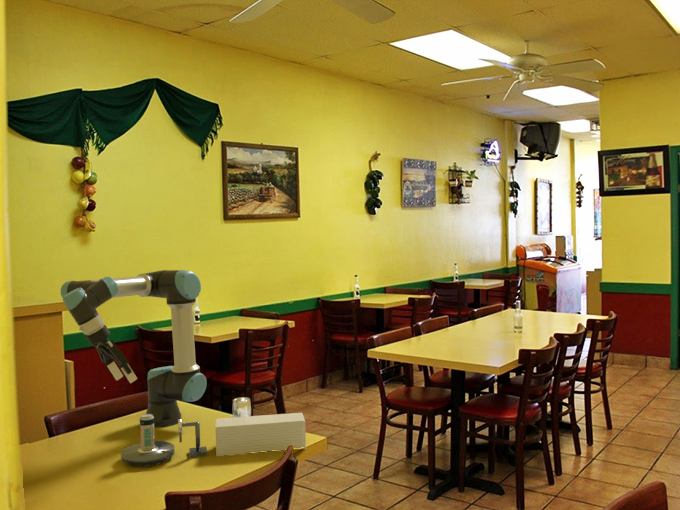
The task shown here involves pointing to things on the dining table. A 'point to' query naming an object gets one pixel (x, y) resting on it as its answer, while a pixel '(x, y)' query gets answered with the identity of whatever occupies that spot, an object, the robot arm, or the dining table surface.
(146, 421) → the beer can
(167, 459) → the turntable base
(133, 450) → the turntable
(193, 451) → the dial indicator
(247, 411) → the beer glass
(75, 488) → the dining table surface
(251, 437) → the white rectangular block
